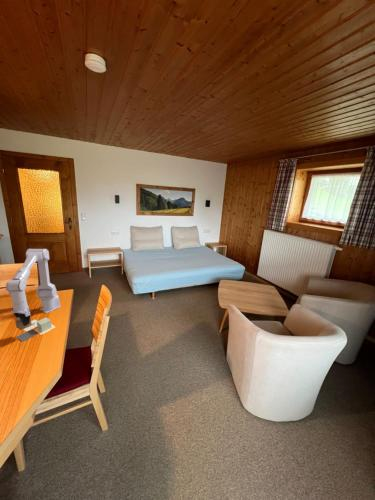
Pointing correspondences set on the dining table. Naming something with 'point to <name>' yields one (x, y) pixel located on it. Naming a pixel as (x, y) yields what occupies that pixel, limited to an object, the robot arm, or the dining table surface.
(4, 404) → the dining table surface
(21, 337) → the coaster
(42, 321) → the sage block
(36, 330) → the card
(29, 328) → the card
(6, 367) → the dining table surface
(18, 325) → the walnut block
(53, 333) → the dining table surface
